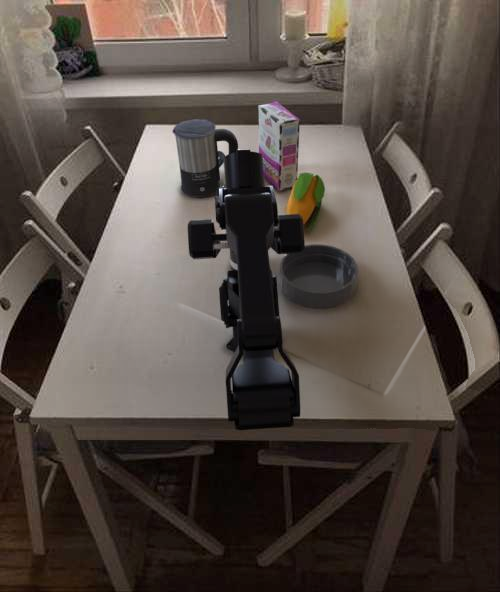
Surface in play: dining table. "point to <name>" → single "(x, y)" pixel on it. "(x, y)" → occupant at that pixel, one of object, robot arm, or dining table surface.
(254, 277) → the robot arm
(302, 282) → the pan
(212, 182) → the milk frother
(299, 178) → the corn
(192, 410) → the dining table surface
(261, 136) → the candy bar box
